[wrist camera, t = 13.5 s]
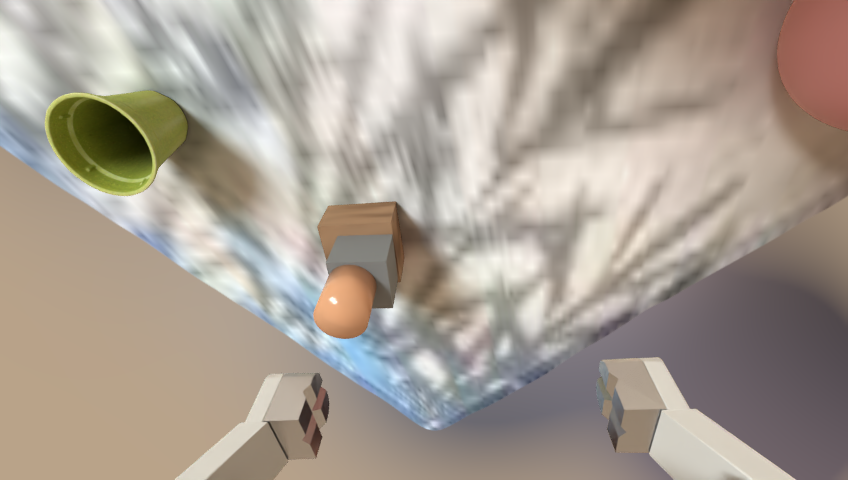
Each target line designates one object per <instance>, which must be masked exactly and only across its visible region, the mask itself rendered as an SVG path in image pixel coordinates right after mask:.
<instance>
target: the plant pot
mask: <svg viewBox="0 0 848 480" xmlns="http://www.w3.org/2000/svg"><path fill="white" fill-rule="evenodd" d="M45 129H46V134H47V138H48V140H49V143H50V145H51V147H52V149H53V151H54V152H55V154H56V155H57V157H58V158H59V159H60V160H61V162H62V163H63V164H64V165H65V166H66V168H67V169H68V170H69V171H70V172H71V173H73V174H74V175H75V176H76V177H77V178H79V179H80V180H82V181H83V182H85V183H86V184H88V185H89V186H91V187H93V188H95V189H98V190H99V191H102V192H105V193H108V194H112V195H118V196H131V195H135V194H138V193H141V192H143V191H144V190H146V189H147V188H148V187H149V186H150V185H151V184H152V183H153V181H154V179H155V177H156V174H157V171H158V168H159V167H160V166H161V165H162V164H163V163H164V162H165V160H166V159H167V158H168V157H169V156H170V155H171V154H172V153H173V152H174V151H175V150H176V149H177V148H178V147H179V146H180V145H181V144H182V143H183V142H184V141H185V140H186V135H187V129H188V124H187V120H186V118H185V116H184V114H183V112H182V110H181V109H180V108H179V106H178V105H177V104H176V103H175V102H174V101H173V100H171V99H170V98H168V97H166V96H163V95H161V94H159V93H157V92H155V91H139V92H133V93H126V94H118V95H110V96H98V95H93V94H89V93H70V94H66V95H63V96H61V97H59V98H57V99H56V100H54V101H53V102H52V104H51V105H50V106H49V108H48V110H47V112H46V117H45Z"/></svg>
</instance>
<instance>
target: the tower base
mask: <svg viewBox="0 0 848 480" xmlns="http://www.w3.org/2000/svg"><path fill="white" fill-rule="evenodd" d="M317 227H318V231H319V235H320V238H321V242H322V246H323V249H324V253H325V257H326V260H327V259H328V257H329V254H330V252H331V250H332V248H333V245H334V243H335V241H336V239H337V236H350V235H386V234H392V235H393V243H394V251H395V259H396V266H397V274H398V282H401V276H402V270H403V264H404V253H403V246H402V239H401V233H400V226H399V219H398V213H397V206H396V202H380V203H365V204H349V205H334V206H328V208H327V209H326V211H325V213H324V215H323V217H322V219H321V221H320V223H319V225H318V226H317Z"/></svg>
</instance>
